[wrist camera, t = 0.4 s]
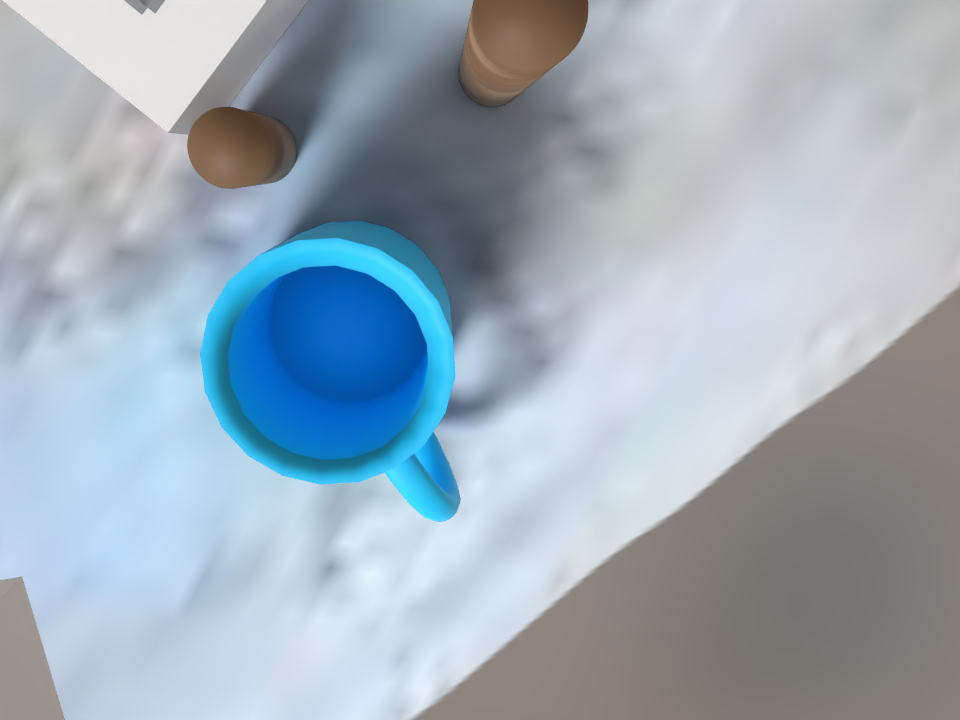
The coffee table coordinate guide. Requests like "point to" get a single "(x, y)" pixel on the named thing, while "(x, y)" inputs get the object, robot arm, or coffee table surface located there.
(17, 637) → the robot arm
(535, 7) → the long dowel
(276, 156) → the short dowel
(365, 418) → the mug
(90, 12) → the hole block
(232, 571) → the coffee table surface
